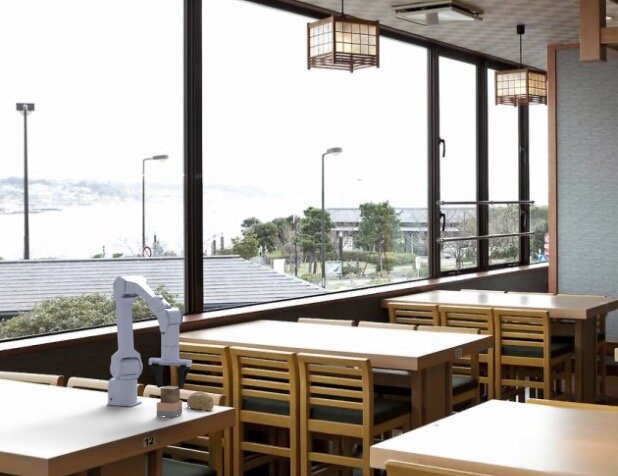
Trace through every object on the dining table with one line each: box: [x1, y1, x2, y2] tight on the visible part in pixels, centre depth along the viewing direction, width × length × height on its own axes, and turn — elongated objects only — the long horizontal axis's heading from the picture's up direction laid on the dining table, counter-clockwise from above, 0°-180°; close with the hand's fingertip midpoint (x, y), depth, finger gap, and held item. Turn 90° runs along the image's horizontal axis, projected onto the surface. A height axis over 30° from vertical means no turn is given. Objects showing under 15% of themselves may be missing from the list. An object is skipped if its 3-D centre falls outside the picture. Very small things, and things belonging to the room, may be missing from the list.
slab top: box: [156, 399, 183, 412], centre depth 306 cm, size 6×6×2 cm
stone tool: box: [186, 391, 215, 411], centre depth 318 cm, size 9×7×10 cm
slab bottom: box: [156, 407, 183, 418], centre depth 306 cm, size 6×6×2 cm
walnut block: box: [160, 385, 181, 403], centre depth 306 cm, size 4×4×4 cm
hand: (170, 387), depth 306 cm, fingers open, 7 cm apart
